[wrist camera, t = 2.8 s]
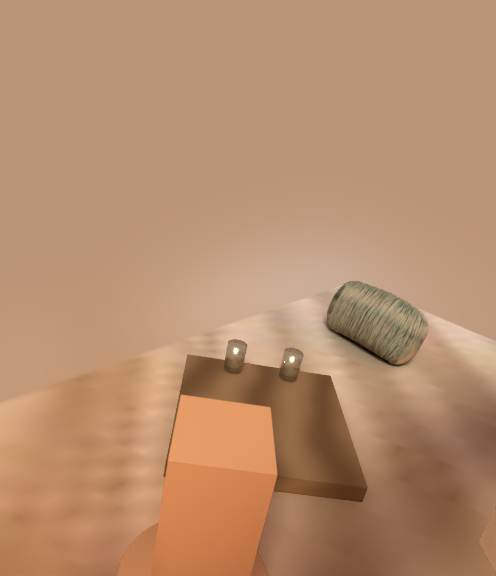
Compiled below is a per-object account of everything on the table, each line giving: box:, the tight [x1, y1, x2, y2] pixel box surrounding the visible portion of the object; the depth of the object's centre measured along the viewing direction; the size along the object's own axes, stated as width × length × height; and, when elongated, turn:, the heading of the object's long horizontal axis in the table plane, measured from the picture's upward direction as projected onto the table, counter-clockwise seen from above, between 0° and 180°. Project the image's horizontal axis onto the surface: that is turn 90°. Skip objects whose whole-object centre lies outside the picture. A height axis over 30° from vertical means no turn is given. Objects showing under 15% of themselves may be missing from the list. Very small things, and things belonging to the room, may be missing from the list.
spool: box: [327, 281, 428, 365], centre depth 62 cm, size 14×10×10 cm
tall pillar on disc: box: [117, 395, 277, 576], centre depth 25 cm, size 9×9×12 cm
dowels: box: [224, 339, 303, 382], centre depth 49 cm, size 8×2×3 cm, turn 91°
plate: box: [164, 355, 367, 502], centre depth 44 cm, size 16×16×2 cm
